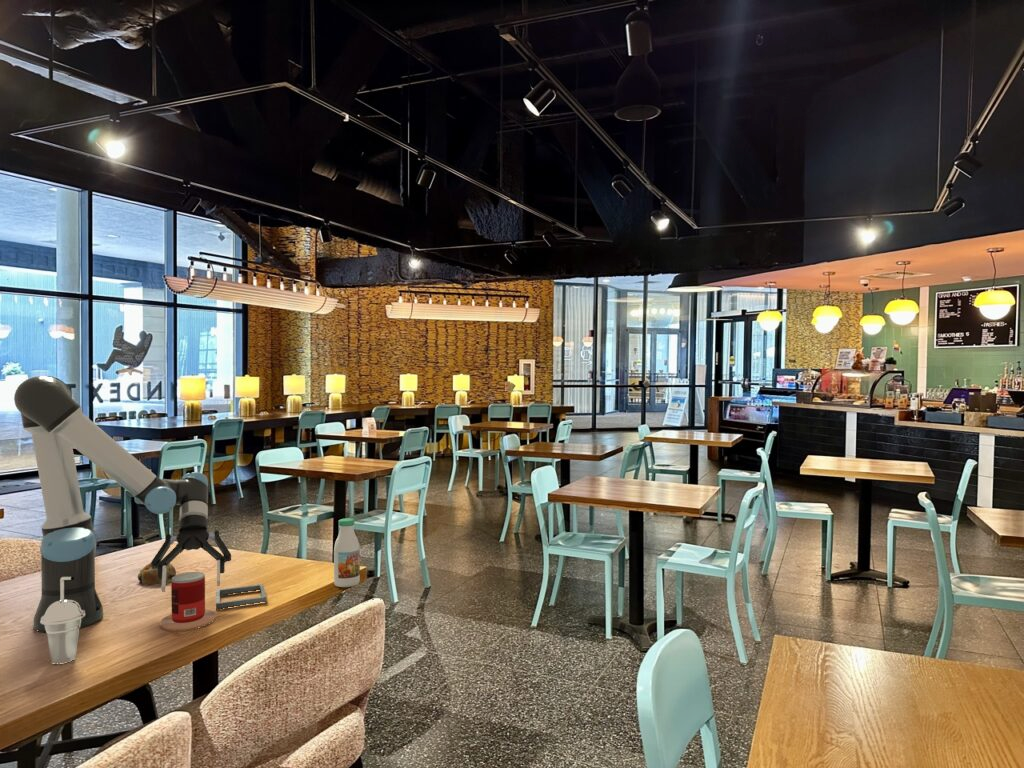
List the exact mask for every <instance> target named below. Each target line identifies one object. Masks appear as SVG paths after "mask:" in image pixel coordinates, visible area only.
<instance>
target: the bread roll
mask: <svg viewBox="0 0 1024 768" xmlns="http://www.w3.org/2000/svg"><path fill="white" fill-rule="evenodd" d="M166 570H167V571H166V584H167V583H171V580H172V577H174V576H175V575H177V571H176V568H175V566H174V565H173V564H172V563H171V562H170V563H169V564H168V565H167V566H166ZM137 578H138V579H137V580H138V581H139V583H140V584H141V583H142V585H145V584H146V586H152V585H154V586H155V585H156V584H157V585H162V580H158V569H156V568H155V569H152V566H151V562H150V563H148V564H147V565H145V566H144V567H143V568H142V569H140V570H139V573H138V574H137Z"/></svg>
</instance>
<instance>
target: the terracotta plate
mask: <svg viewBox="0 0 1024 768" xmlns="http://www.w3.org/2000/svg"><path fill="white" fill-rule="evenodd" d="M215 618H216V619H217V613H216V611H214V610H211V609H207V608H205V614H204V616H203V617H202V618H201V619H199V620H196V621H192V622H187V623H177V622H174V621H173V620H172V613H171V614H169V615H167V616H165V617H163V618H162V619H161V620H160V628H161V629H162V630H164V631H169V632H185V631H192V629H193V630H197V629H199V628H198V627H201V628H203V627H202V626H204V625H207V624H209V623H211V622H212V621H214V620H215V621H216V619H215ZM215 621H214V622H215ZM212 623H213V622H212ZM212 623H211V624H212ZM209 625H210V624H209ZM207 626H208V625H207ZM204 627H205V626H204ZM196 628H197V629H196Z"/></svg>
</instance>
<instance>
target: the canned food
mask: <svg viewBox="0 0 1024 768" xmlns="http://www.w3.org/2000/svg"><path fill="white" fill-rule="evenodd" d="M170 583H171V585H170V587H171V588H170V591H171V594H170V595H171V599H170V600H171V614H172V620H173V621H174V622H177V623H187V622H192V621H196V620H199V619H201V618H202V617H203V616H204V614H205V609H206V576H205V573H204V572H202V571H188V572H182V573H179V574H176V575H175V576H174V577H172V580H171V582H170Z"/></svg>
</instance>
